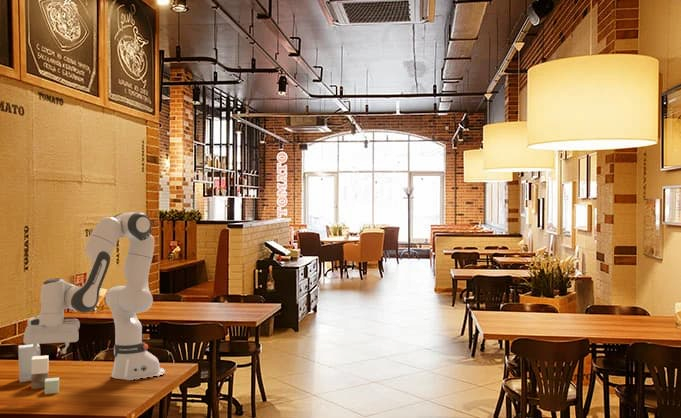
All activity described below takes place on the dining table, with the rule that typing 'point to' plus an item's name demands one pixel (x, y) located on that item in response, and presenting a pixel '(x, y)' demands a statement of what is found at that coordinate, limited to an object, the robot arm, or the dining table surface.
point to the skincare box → (26, 361)
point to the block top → (40, 364)
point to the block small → (51, 385)
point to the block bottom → (38, 380)
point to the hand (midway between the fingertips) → (51, 354)
